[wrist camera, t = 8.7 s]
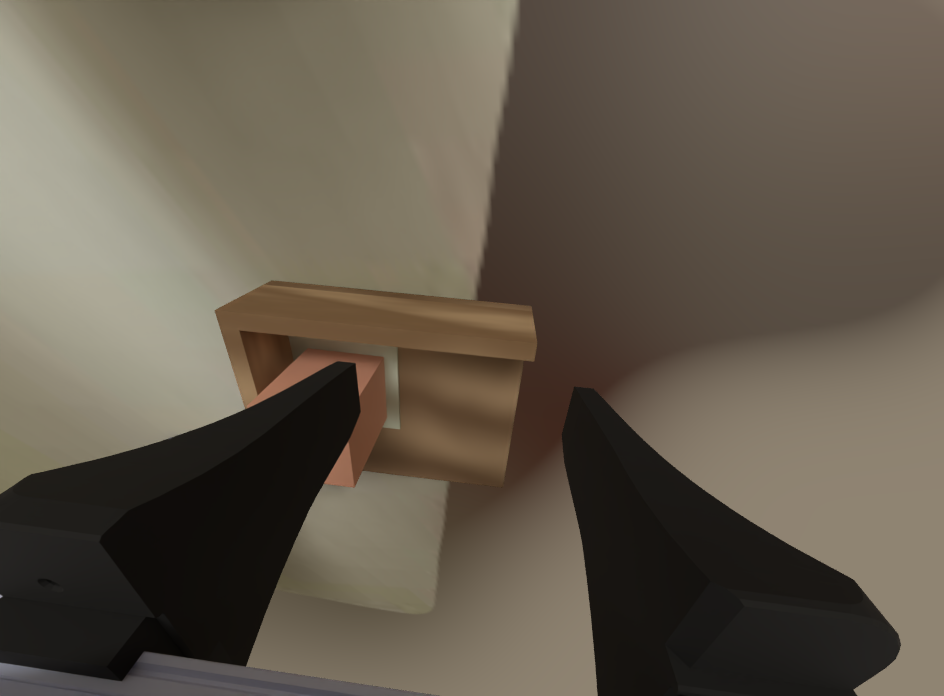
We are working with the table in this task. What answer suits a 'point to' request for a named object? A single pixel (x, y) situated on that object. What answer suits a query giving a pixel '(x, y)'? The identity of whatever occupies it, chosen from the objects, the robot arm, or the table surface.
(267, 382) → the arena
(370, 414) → the cube
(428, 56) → the table surface
